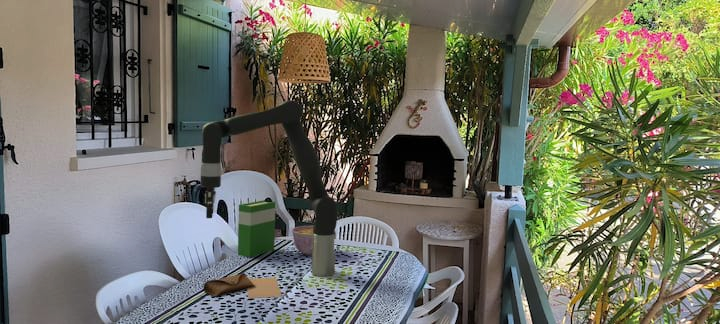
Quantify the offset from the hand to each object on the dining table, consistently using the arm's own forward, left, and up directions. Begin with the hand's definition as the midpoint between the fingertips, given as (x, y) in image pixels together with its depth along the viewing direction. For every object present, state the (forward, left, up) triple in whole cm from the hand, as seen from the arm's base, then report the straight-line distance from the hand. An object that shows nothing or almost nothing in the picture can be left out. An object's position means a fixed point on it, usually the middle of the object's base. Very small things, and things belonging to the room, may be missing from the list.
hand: (209, 216), depth 190 cm
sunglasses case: (-8, +10, -26) cm, 29 cm away
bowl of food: (-47, -36, -26) cm, 65 cm away
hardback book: (-21, -41, -26) cm, 53 cm away
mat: (-20, +10, -26) cm, 34 cm away
